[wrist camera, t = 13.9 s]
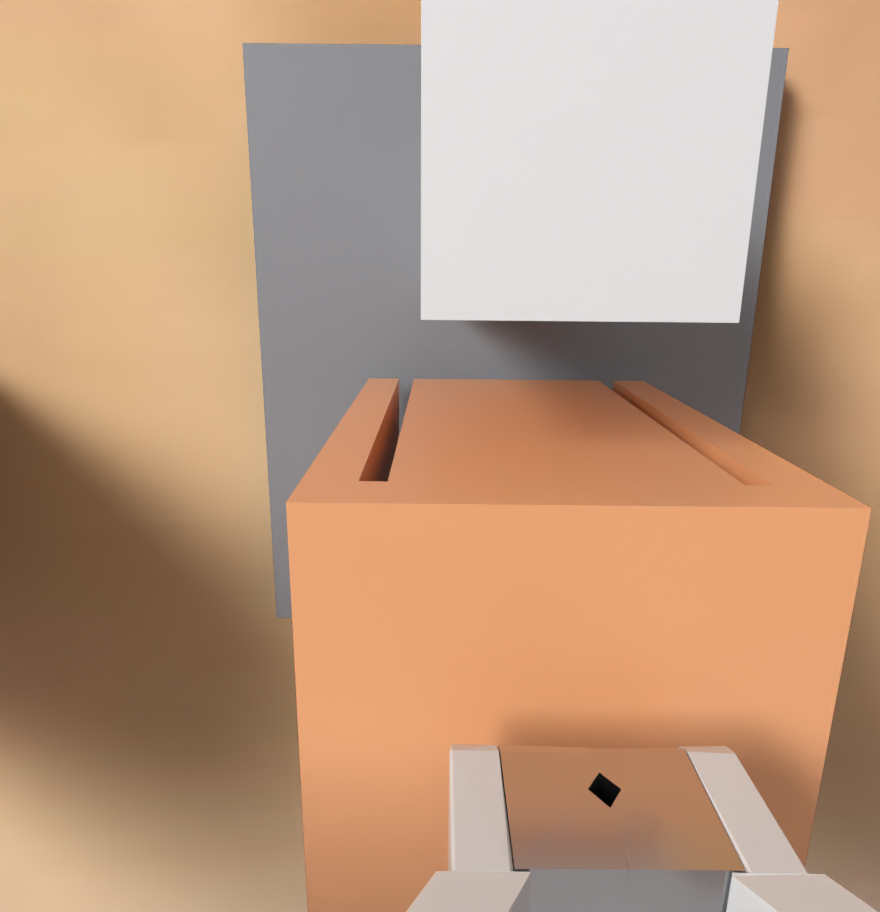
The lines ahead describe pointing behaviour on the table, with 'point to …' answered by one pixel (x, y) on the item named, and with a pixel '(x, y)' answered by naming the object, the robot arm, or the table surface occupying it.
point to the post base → (510, 208)
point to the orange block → (549, 606)
